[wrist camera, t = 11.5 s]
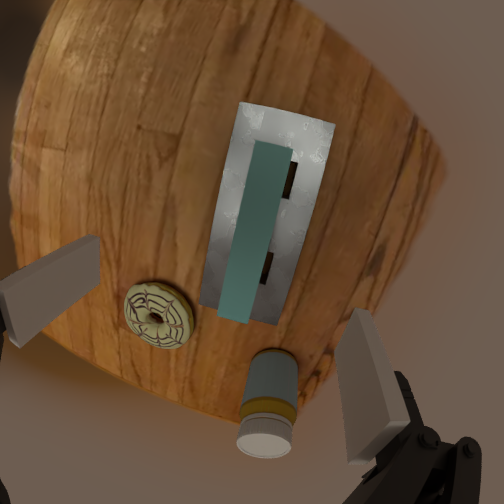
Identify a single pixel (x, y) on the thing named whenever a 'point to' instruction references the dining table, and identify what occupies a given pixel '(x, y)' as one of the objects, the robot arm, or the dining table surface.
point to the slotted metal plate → (290, 209)
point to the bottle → (269, 405)
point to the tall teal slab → (254, 229)
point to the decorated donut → (168, 306)
